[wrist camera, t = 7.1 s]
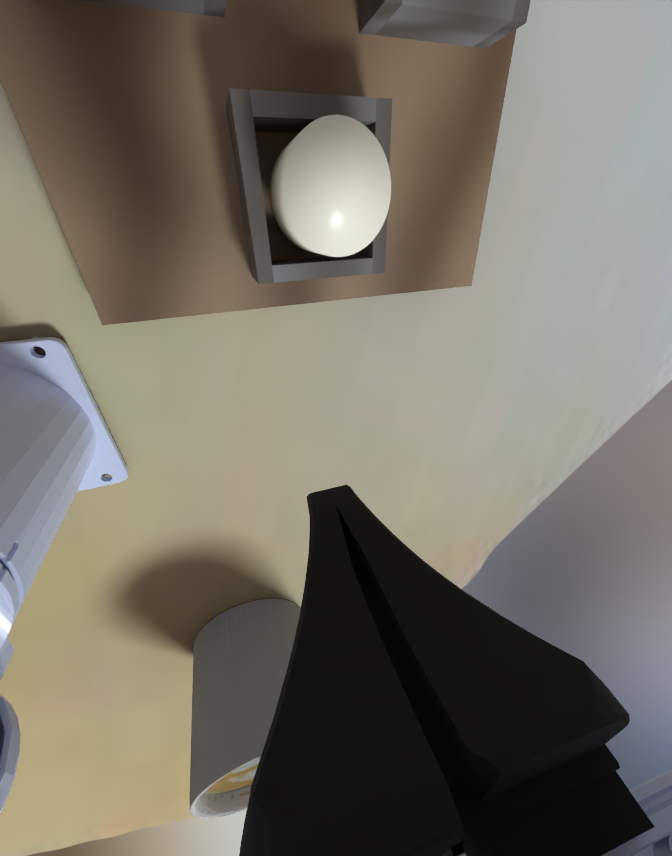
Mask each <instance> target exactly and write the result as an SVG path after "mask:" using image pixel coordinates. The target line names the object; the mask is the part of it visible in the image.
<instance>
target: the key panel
mask: <svg viewBox="0 0 672 856" xmlns="http://www.w3.org/2000/svg"><path fill="white" fill-rule="evenodd" d="M529 5H530V0H0V80H1V83H2V85H3V87H4V90H5V92H6V95H7V97H8V99H9V102H10V104H11V107H12V109H13V111H14V114H15V116H16V119H17V121H18V123H19V126H20V128H21V131H22V133H23V135H24V138H25V140H26V143H27V145H28V147H29V150H30V152H31V155H32V157H33V160H34V162H35V164H36V167H37V169H38V172H39V174H40V176H41V179H42V181H43V184H44V186H45V188H46V191H47V193H48V196H49V198H50V200H51V203H52V205H53V208H54V210H55V212H56V215H57V217H58V220H59V222H60V224H61V227H62V229H63V232H64V234H65V236H66V239H67V241H68V244H69V246H70V248H71V251H72V253H73V256H74V258H75V260H76V263H77V265H78V268H79V270H80V272H81V275H82V277H83V280H84V282H85V284H86V287H87V289H88V292H89V294H90V296H91V299H92V301H93V304H94V306H95V308H96V311H97V313H98V316H99V318H100V320H101V323H102V325H108V324H117V323H127V322H136V321H145V320H155V319H164V318H173V317H183V316H192V315H201V314H211V313H220V312H229V311H239V310H248V309H258V308H267V307H276V306H286V305H295V304H304V303H314V302H323V301H332V300H342V299H351V298H360V297H370V296H379V295H388V294H398V293H407V292H416V291H426V290H435V289H444V288H454V287H463V286H471V285H472V279H473V273H474V267H475V262H476V256H477V250H478V245H479V239H480V233H481V228H482V222H483V216H484V210H485V205H486V199H487V193H488V188H489V182H490V176H491V171H492V165H493V159H494V153H495V148H496V142H497V136H498V131H499V125H500V119H501V113H502V108H503V102H504V96H505V91H506V85H507V79H508V74H509V68H510V62H511V56H512V51H513V45H514V39H515V34H516V29H517V28H519V27H520V26H522V25H523V24H525V23H526V21H527V15H528V10H529ZM328 115H344V116H348V117H351V118H353V119H355V120H357V121H359V122H361V123H362V124H363V125H365V126H366V127H367V128H368V129H369V130H370V131H371V132H372V133H373V134H374V136H375V137H376V138H377V140H378V141H379V143H380V145H381V147H382V148H383V151H384V153H385V155H386V158H387V162H388V165H389V170H390V176H391V199H390V205H389V210H388V213H387V216H386V219H385V221H384V224H383V226H382V228H381V229H380V231H379V233H378V234H377V236H376V237H375V238H374V239H373V241H372V242H371V243H370V244H369V245H367V246H366V247H365V248H364V249H362V250H361V251H359V252H357V253H355V254H352V255H349V256H344V257H332V256H327V255H322V254H318V253H314V252H310V251H306V250H304V249H302V248H300V247H298V246H296V245H295V244H293V243H292V242H291V241H290V240H289V239H288V238H287V237H286V236H285V234H284V233H283V232H282V230H281V229H280V227H279V225H278V223H277V222H276V219H275V217H274V214H273V210H272V207H271V201H270V180H271V174H272V171H273V167H274V165H275V162H276V160H277V158H278V156H279V155H280V153H281V152H282V150H283V149H284V148H285V147H286V146H287V145H288V144H289V143H290V142H291V141H292V140H293V139H294V138H295V137H296V136H297V135H298V134H299V133H300V132H301V131H302V130H303V129H304V128H305V127H306V126H307V125H308V124H310V123H311V122H313V121H314V120H316V119H318V118H321V117H324V116H328Z"/></svg>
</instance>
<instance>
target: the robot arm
mask: <svg viewBox="0 0 672 856" xmlns="http://www.w3.org/2000/svg"><path fill="white" fill-rule="evenodd" d="M34 346H38V347H41V348H43V349H44V351H45V352H46V355H39V354H37V353H36V352H35V351H34ZM128 473H129V471H128V468H127V466H126V464H125V462H124V460H123V458H122V456H121V454H120V452H119V450H118V448H117V446H116V444H115V442H114V440H113V438H112V436H111V433H110V431H109V429H108V427H107V425H106V423H105V421H104V419H103V417H102V415H101V413H100V411H99V409H98V407H97V405H96V403H95V401H94V399H93V397H92V395H91V393H90V391H89V389H88V387H87V384H86V382H85V380H84V378H83V376H82V374H81V372H80V370H79V368H78V366H77V364H76V362H75V360H74V358H73V356H72V354H71V352H70V350H69V348H68V346H67V345H66V343H65V342H63V341H62V340H61V339H58V338H55V337H43V338H34V339H25V340H16V341H7V342H0V680H1V678H2V676H3V674H4V671H5V669H6V667H7V665H8V662H9V660H10V658H11V656H12V654H13V651H14V647H13V646H12V645H11V643H10V642H9V638H8V633H9V631H10V629H11V627H12V625H13V623H14V621H15V619H16V616H17V614H18V611H19V609H20V607H21V605H22V603H23V601H24V599H25V597H26V595H27V593H28V591H29V589H30V587H31V585H32V583H33V581H34V578H35V576H36V574H37V572H38V570H39V568H40V566H41V564H42V562H43V560H44V558H45V556H46V554H47V552H48V550H49V548H50V546H51V543H52V541H53V539H54V537H55V535H56V533H57V531H58V529H59V527H60V525H61V523H62V521H63V519H64V517H65V515H66V513H67V511H68V508H69V506H70V504H71V502H72V500H73V498H74V496H75V494H76V492H77V491H82V490H86V489H91V488H96V487H100V486H105V485H109V484H114V483H118V482H122V481H124V480H125V479H127V476H128ZM103 474H109V475H111V476H112V477H105V476H104V475H103ZM307 502H308V508H309V514H310V540H309V556H308V565H307V573H306V581H305V588H304V594H303V600H302V605H301V610H300V616H299V621H298V625H297V630H296V634H295V639H294V643H293V648H292V652H291V656H290V660H289V664H288V668H287V671H286V675H285V678H284V682H283V685H282V689H281V693H280V696H279V700H278V703H277V707H276V710H275V714H274V717H273V720H272V724H271V727H270V730H269V733H268V736H267V739H266V742H265V745H264V748H263V751H262V755H261V758H260V761H259V764H258V767H257V770H256V773H255V776H254V779H253V782H252V785H251V790H250V797H249V802H248V807H247V812H246V818H245V823H244V829H243V835H242V841H241V847H240V854H239V856H632V855H634V854H636V853H638V852H639V851H641V850H643V849H645V848H647V847H649V846H650V845H652V844H653V851H654V855H655V856H672V769H671V770H669V771H667V772H665V773H663V774H661V775H659V776H657V777H655V778H653V779H651V780H649V781H647V782H645V783H643V784H641V785H639V786H637V787H635V788H633V789H631V790H629V789H628V788H627V787H626V785H625V784H624V782H623V781H622V780H621V778H620V777H619V775H618V774H617V772H616V770H617V769H619V768H620V767H619V764H618V762H617V760H616V759H615V758H614V756H613V755H612V753H611V752H610V751H609V749H608V748H607V746H606V745H605V743H606V742H608V741H609V740H610V739H611V738H613V737H614V736H615V735H616V734H618V733H619V732H620V731H621V730H623V729H624V728H625V727H626V726H627V725H628V723H629V721H630V720H629V714H628V713H627V711H626V710H625V709H624V708H623V706H622V705H621V704H620V703H619V702H618V700H617V699H616V698H615V697H614V695H613V694H612V693H611V692H610V690H609V689H608V688H607V687H606V686H605V685H604V683H603V682H602V681H601V680H600V679H599V678H598V677H597V676H596V675H595V674H594V673H593V672H592V671H591V670H590V669H589V667H588V666H587V665H586V664H585V663H584V662H583V661H581V660H579V659H578V658H576V657H574V656H572V655H570V654H568V653H566V652H564V651H562V650H561V649H559V648H557V647H555V646H553V645H551V644H549V643H548V642H546V641H544V640H542V639H541V638H539V637H537V636H535V635H533V634H532V633H530V632H528V631H526V630H525V629H523V628H521V627H520V626H518V625H516V624H514V623H513V622H511V621H510V620H508V619H506V618H504V617H503V616H501V615H500V614H498V613H497V612H495V611H493V610H492V609H490V608H489V607H487V606H486V605H484V604H483V603H481V602H480V601H478V600H476V599H475V598H474V597H472V596H471V595H469V594H467V593H466V592H464V591H463V590H461V589H460V588H459V587H457V586H456V585H455V584H453V583H452V582H450V581H449V580H448V579H446V578H445V577H444V576H442V575H441V574H440V573H438V572H437V571H436V570H435V569H433V568H432V567H431V566H429V565H428V564H427V563H426V562H424V561H423V560H422V559H421V558H420V557H418V556H417V555H416V554H415V553H414V552H413V551H411V550H410V549H409V548H408V547H407V546H406V545H405V544H403V543H402V542H401V541H400V540H399V539H398V538H397V537H396V536H395V535H394V534H393V533H392V532H391V531H390V530H389V529H388V528H387V527H386V526H385V525H384V524H383V523H382V522H381V521H380V520H379V519H378V518H377V517H376V516H375V515H374V514H373V513H372V512H371V511H370V510H369V509H368V508H367V507H366V506H365V504H364V503H363V502H362V501H361V500H360V499H359V497H358V496H357V495H356V494H355V493H354V491H353V490H352V489H351V487H350V486H348V485H343V486H339V487H335V488H331V489H327V490H323V491H318V492H314V493H310V494H309V495H308V496H307ZM20 735H21V734H20V729H19V723H18V718H17V715H16V713H15V711H14V709H13V707H12V705H11V704H10V703H9V702H8V701H7V700H6V699H5V698H4V697H3V696H1V695H0V814H1V811H2V809H3V807H4V805H5V802H6V799H7V796H8V794H9V791H10V788H11V785H12V782H13V780H14V776H15V772H16V767H17V763H18V758H19V753H20Z"/></svg>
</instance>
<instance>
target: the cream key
mask: <svg viewBox="0 0 672 856" xmlns="http://www.w3.org/2000/svg"><path fill="white" fill-rule="evenodd" d="M390 199H391V176H390V170H389V165H388V162H387V158H386V155H385V153H384V151H383V148H382V147H381V145H380V143H379V141H378V140H377V138H376V137H375V136H374V134H373V133H372V132H371V131H370V130H369V129H368V128H367V127H366V126H365V125H363V124H362V123H361V122H359V121H357V120H355V119H353V118H351V117H348V116H344V115H328V116H324V117H321V118H318V119H316V120H314V121H313V122H311V123H310V124H308V125H307V126H306V127H305V128H304V129H303V130H302V131H301V132H300V133H299V134H298V135H297V136H296V137H295V138H294V139H293V140H292V141H291V142H290V143H289V144H288V145H287V146H286V147H285V148H284V149H283V150H282V152H281V153H280V155H279V156H278V158H277V160H276V162H275V165H274V167H273V171H272V174H271V180H270V201H271V207H272V210H273V214H274V217H275V219H276V222H277V223H278V225H279V227H280V229H281V230H282V232H283V233H284V234H285V236H286V237H287V238H288V239H289V240H290V241H291V242H292V243H293V244H295V245H296V246H298V247H300V248H302V249H304V250H306V251H310V252H314V253H318V254H322V255H327V256H332V257H344V256H349V255H352V254H355V253H357V252H359V251H361V250H362V249H364V248H365V247H366V246H367V245H369V244H370V243H371V242H372V241H373V239H374V238H375V237H376V236H377V234H378V233H379V231H380V229H381V228H382V226H383V224H384V221H385V219H386V216H387V213H388V210H389V205H390Z"/></svg>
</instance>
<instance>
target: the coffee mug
mask: <svg viewBox="0 0 672 856" xmlns="http://www.w3.org/2000/svg"><path fill="white" fill-rule="evenodd" d="M300 610H301V608H300V607H299V606H298V605H296V604H295V603H293V602H291V601H287V600H283V599H260V600H255V601H250V602H247V603H244V604H241V605H238V606H235V607H232V608H230V609H228V610H226V611H224V612H223V613H221V614H219V615H218V616H216V617H215V618H213V619H212V620H211V621H209V622H208V623H207V624H206V625H205V626H204V627H203V628H202V629H201V630H200V632H199V633H198V635H197V637H196V639H195V642H194V659H193V695H192V732H191V769H190V812H191V814H192V815H193V816H195V817H198V818H213V817H219V816H225V815H229V814H233V813H236V812H240V811H242V810H245V809H247V807H248V802H249V797H250V790H251V785H252V782H253V779H254V776H255V773H256V770H257V767H258V764H259V761H260V758H261V755H262V751H263V748H264V745H265V742H266V739H267V736H268V733H269V730H270V727H271V724H272V720H273V717H274V714H275V710H276V707H277V703H278V700H279V696H280V693H281V689H282V685H283V682H284V678H285V675H286V671H287V668H288V664H289V660H290V656H291V652H292V648H293V643H294V639H295V634H296V630H297V625H298V621H299V616H300Z"/></svg>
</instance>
